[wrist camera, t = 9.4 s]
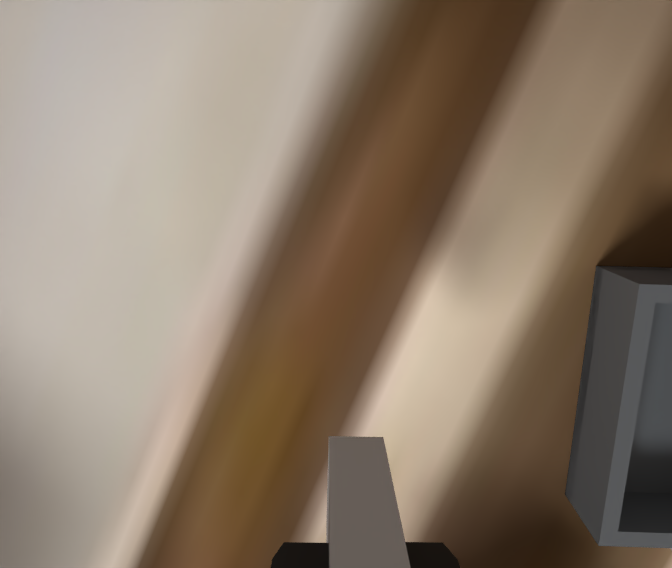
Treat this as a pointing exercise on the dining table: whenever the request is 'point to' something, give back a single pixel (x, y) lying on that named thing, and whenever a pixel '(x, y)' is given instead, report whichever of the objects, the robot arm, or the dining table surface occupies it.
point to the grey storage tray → (626, 411)
